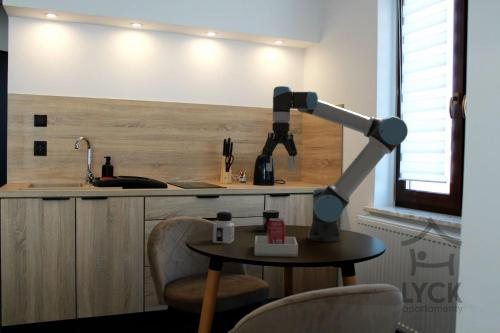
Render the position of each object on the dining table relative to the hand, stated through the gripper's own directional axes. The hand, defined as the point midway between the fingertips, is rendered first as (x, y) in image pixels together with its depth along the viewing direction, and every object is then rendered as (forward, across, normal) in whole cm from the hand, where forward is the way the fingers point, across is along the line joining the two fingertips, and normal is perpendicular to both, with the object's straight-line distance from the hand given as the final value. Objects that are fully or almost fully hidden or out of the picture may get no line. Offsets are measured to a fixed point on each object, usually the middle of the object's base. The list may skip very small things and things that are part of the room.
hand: (279, 170), depth 201 cm
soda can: (+31, +14, +12) cm, 36 cm away
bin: (+32, +14, +12) cm, 36 cm away
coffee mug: (+32, -20, -24) cm, 45 cm away
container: (+32, +18, -16) cm, 40 cm away
